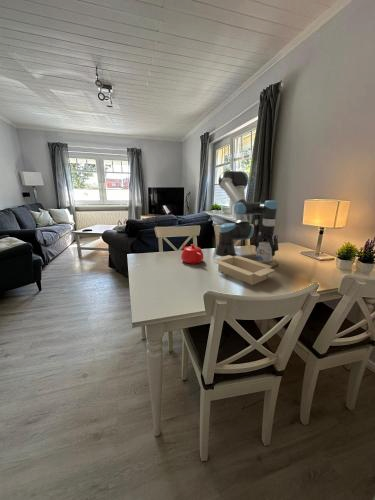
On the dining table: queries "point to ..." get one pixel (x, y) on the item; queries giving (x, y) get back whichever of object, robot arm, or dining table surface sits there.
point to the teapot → (192, 254)
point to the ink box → (264, 251)
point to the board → (268, 263)
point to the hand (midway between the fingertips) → (264, 258)
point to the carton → (243, 268)
